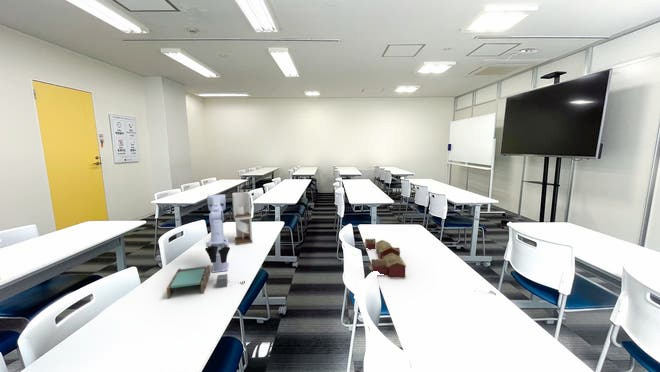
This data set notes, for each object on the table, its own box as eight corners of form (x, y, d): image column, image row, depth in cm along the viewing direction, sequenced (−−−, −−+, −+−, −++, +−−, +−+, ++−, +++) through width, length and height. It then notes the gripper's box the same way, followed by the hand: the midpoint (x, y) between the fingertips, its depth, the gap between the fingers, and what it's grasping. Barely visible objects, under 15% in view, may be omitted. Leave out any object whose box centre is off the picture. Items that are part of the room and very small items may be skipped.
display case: (234, 240, 191) (232, 192, 185) (250, 237, 195) (247, 191, 190) (236, 245, 180) (233, 195, 175) (252, 242, 185) (250, 194, 180)
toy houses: (410, 278, 135) (411, 260, 134) (370, 278, 135) (371, 260, 134) (390, 245, 180) (390, 231, 178) (360, 245, 180) (360, 231, 178)
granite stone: (218, 283, 130) (217, 275, 129) (227, 282, 131) (227, 274, 131) (217, 288, 126) (216, 279, 125) (227, 286, 127) (226, 278, 126)
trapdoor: (181, 273, 134) (180, 268, 134) (206, 270, 137) (206, 265, 137) (170, 291, 117) (170, 286, 117) (200, 287, 121) (199, 282, 120)
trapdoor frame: (179, 277, 136) (178, 268, 135) (210, 274, 140) (209, 265, 139) (167, 298, 117) (166, 288, 116) (203, 293, 121) (202, 283, 120)
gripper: (214, 231, 122) (216, 260, 118) (233, 234, 136) (235, 261, 131) (201, 234, 123) (202, 263, 119) (221, 237, 137) (222, 264, 132)
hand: (218, 262), depth 125 cm, fingers open, 7 cm apart
